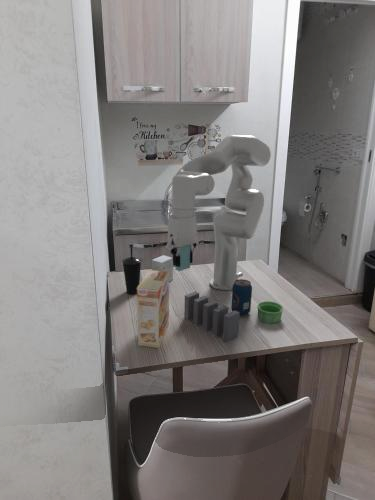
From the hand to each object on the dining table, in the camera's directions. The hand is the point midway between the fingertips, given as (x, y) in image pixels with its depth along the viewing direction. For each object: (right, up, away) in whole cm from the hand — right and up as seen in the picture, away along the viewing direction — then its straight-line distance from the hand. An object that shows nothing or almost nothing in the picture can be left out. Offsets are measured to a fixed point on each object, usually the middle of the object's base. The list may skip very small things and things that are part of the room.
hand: (182, 263), depth 129 cm
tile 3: (+6, -20, -1) cm, 21 cm away
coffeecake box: (-9, -23, -9) cm, 26 cm away
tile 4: (+9, -21, -4) cm, 24 cm away
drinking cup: (-21, -13, +22) cm, 32 cm away
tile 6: (+15, -24, -10) cm, 30 cm away
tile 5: (+12, -23, -7) cm, 27 cm away
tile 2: (+3, -19, +2) cm, 20 cm away
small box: (-9, -9, +33) cm, 35 cm away
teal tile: (0, -2, +1) cm, 2 cm away
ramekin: (+31, -20, +3) cm, 37 cm away
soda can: (+21, -18, +6) cm, 29 cm away
